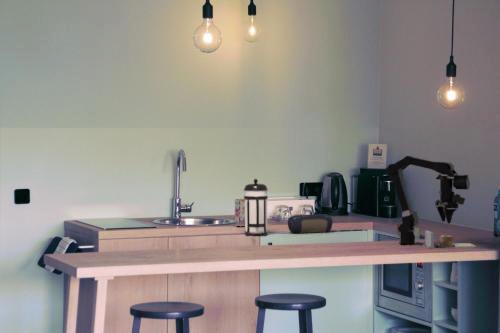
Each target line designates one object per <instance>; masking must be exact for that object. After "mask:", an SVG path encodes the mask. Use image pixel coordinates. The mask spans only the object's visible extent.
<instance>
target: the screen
mask: <svg viewBox="0 0 500 333" xmlns="http://www.w3.org/2000/svg"><path fill="white" fill-rule="evenodd" d="M434 236H435V235H434V232H432V231H430V230H424V243H423V246H424V245H426V247H428V249H436V246H435V245H434V240H435V238H434Z"/></svg>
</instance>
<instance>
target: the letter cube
mask: <svg viewBox="0 0 500 333" xmlns="http://www.w3.org/2000/svg"><path fill="white" fill-rule="evenodd" d="M453 244H454V236H452V235H448V234H447V235H444V234H443V235H439V247H441V248H453V247H454V246H453Z"/></svg>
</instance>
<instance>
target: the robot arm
mask: <svg viewBox="0 0 500 333" xmlns="http://www.w3.org/2000/svg"><path fill="white" fill-rule="evenodd" d="M409 166H415V167H420V168H423V169H429V170H432V171H434V172H436V173H439V174H437V175H438V176H436V177H435V180H439V182H440V183H439V185H440V186H439V191H438V194H439V199H436V200H435V201H434V206H435V208H436V210H437V212H438V214H439V217H440V219H441V222H445V221H446V222H447V224H451V223H452V219H453V215H454V212H456V211H457V210H458V209H459V205H461V206H463V205H464V203H465V201H466V198H465V197H461V195H460V194H458V193H456V194H455V191H453V190H454V188H455V190H463V191H464V190H465V191H466V190H467V191H469V189H470V186H471V182H470V178H469V174H462V175H461V174H458V173H457V171H456V170H455V165H454V164H453V163H452V162H451V161H450V162H449V161H435V160H434V161H433V160H430V159H424V158H418V157H415V156H412V155H406V156H405V157H403V158H402V159H400V160H398V161H397V162H394V163H390V164H389V165H388V166H387V167H386V173H387V175H388V176H389V178H390V180H391V181H392V183H393V184H394V188H395V189H394V190H395V192H396V195H397V198H398V202H399V204H400V208H401V211H402V213H401V221H402V224H401V223H400V224H401V225H400V226H399V227H398V230H399V235H398V236H399V238H398V239H399V242H398V244H399V245H401V246H403V245H404V246H405V245H407V244H416V239H415V235H414V229H415V227H416V226H417V227H418V225H419V220H420V218H419V216H418V212H417V211H414V210H413V209H412V206H411V204H410V200H409V197H408V194H407V190H406V186H405V184H404V170H405V169H406V168H408V167H409ZM407 246H408V245H407Z"/></svg>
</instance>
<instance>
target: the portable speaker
mask: <svg viewBox="0 0 500 333" xmlns="http://www.w3.org/2000/svg"><path fill="white" fill-rule="evenodd" d="M287 227H288V231H289V232H290V233H292V234H295V235H296V234H297V235H299V234H318V233H328V232H330V231H331V230H332V228H333V218H332V216H331V215H329V214H327V213H326V214H325V213H322V214H321V213H320V214H298V215H297V214H295V215H292V216H289V218H288V219H287Z"/></svg>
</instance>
